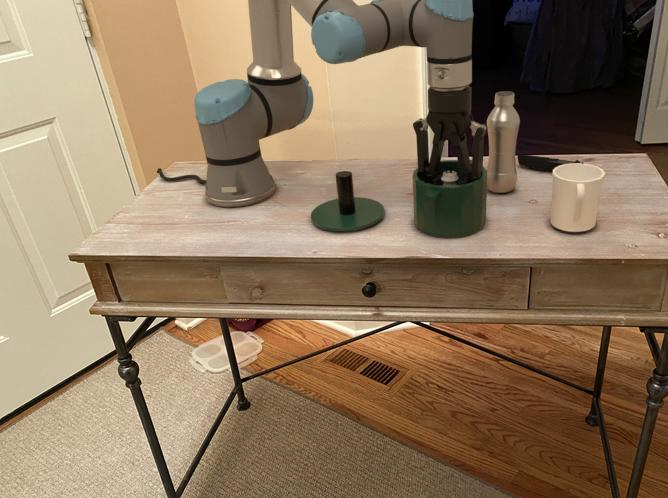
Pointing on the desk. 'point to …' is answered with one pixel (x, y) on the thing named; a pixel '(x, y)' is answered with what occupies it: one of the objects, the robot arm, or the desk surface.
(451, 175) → the rook chess piece
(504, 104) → the silver metal bottle
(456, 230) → the pot
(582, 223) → the mug
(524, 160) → the electric trimmer
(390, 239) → the desk surface
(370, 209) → the lid
